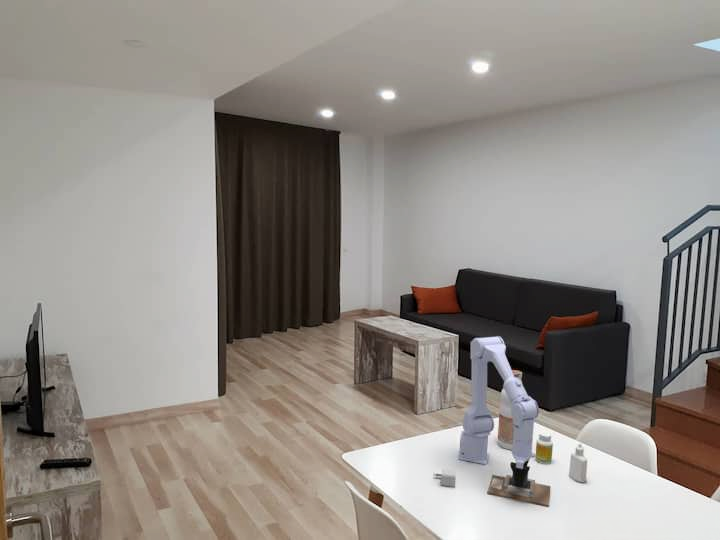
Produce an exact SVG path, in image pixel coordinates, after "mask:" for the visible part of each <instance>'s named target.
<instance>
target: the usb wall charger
mask: <svg viewBox="0 0 720 540" xmlns="http://www.w3.org/2000/svg"><path fill="white" fill-rule="evenodd" d="M456 475H457V471H456V470H453V469H444V468H442V469H441V473H435V474H433V478H432V479H434V480H438V481H440V485H441V486H444V487H450V486H451V487H452V488H453V487H454V488H455V487H456V477H457V476H456Z"/></svg>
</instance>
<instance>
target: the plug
mask: <svg viewBox="0 0 720 540" xmlns="http://www.w3.org/2000/svg"><path fill="white" fill-rule="evenodd" d="M528 479H529V472H528V473H527V474H526V476H525V480H524V484H523V486H522V487H521V488H526V489H527V484H528ZM512 486H515V482H514V475H513V474H512ZM516 487H518V486H516Z"/></svg>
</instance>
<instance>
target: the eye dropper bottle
mask: <svg viewBox="0 0 720 540" xmlns="http://www.w3.org/2000/svg"><path fill="white" fill-rule="evenodd" d="M584 450H585V448H584V447H583V446H582V443H578V446H575V452H572V453H571V454H570V461H569V462H570V463H569V473H568V476H569V477H570V478H571V479H572V480H574V481H575V482H578V483H580V484H581V483H585V482H586V480H587V473H588V472H587V471H588V459H587V458H586V456H585V455H584V453H585V451H584Z"/></svg>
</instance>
